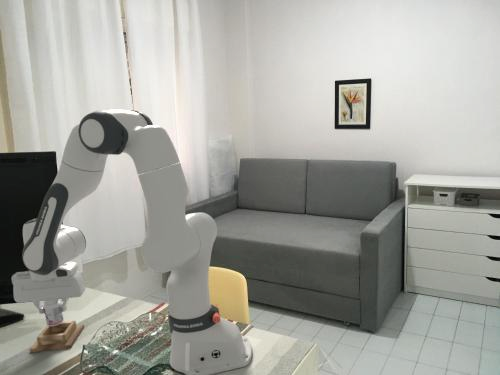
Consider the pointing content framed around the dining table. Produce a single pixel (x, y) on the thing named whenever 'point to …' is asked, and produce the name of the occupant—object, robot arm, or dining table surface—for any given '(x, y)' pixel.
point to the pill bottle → (53, 312)
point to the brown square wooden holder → (57, 337)
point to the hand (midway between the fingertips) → (53, 311)
